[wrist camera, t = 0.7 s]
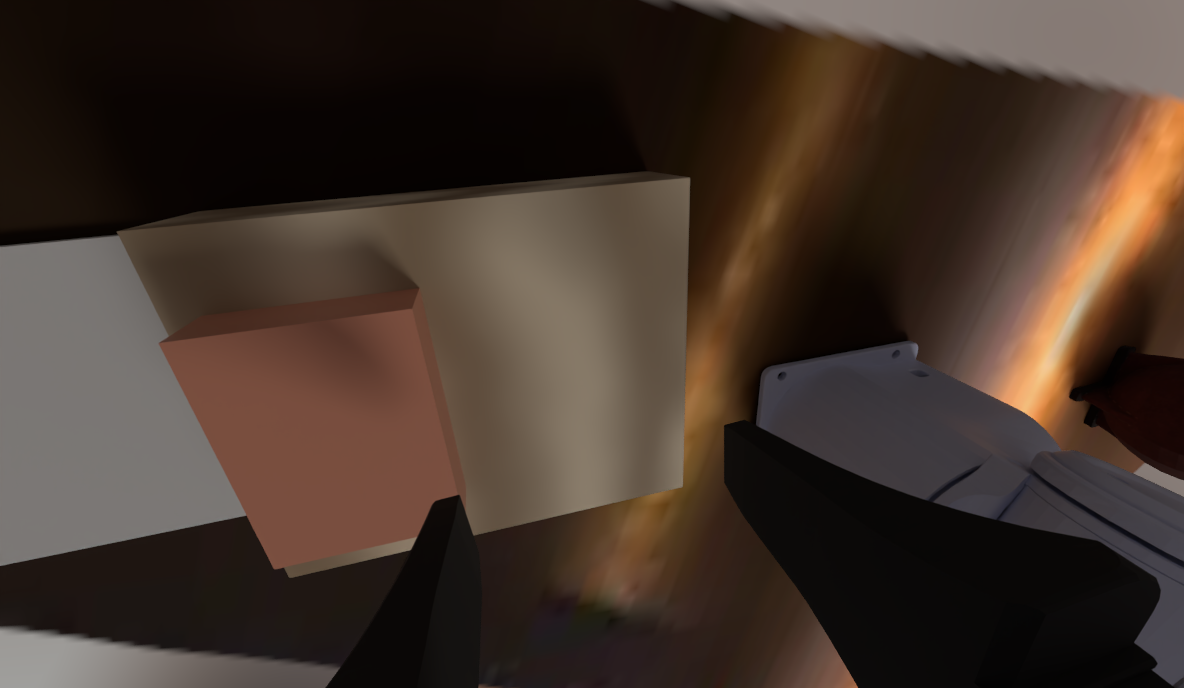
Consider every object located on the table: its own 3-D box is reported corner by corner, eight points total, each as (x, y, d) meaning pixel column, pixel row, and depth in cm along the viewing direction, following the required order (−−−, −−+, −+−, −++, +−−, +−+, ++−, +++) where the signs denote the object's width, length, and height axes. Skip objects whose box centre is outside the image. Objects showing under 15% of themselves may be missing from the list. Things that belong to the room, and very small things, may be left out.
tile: (419, 287, 14) (412, 308, 12) (466, 487, 17) (465, 525, 16) (201, 316, 13) (158, 343, 11) (295, 523, 16) (274, 569, 15)
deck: (647, 171, 18) (690, 177, 15) (651, 435, 24) (682, 486, 20) (199, 210, 15) (116, 231, 12) (320, 503, 21) (289, 577, 17)
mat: (189, 227, 15) (182, 230, 15) (305, 497, 20) (302, 503, 20) (-353, 279, 13) (-376, 283, 12) (-68, 573, 18) (-79, 581, 17)
